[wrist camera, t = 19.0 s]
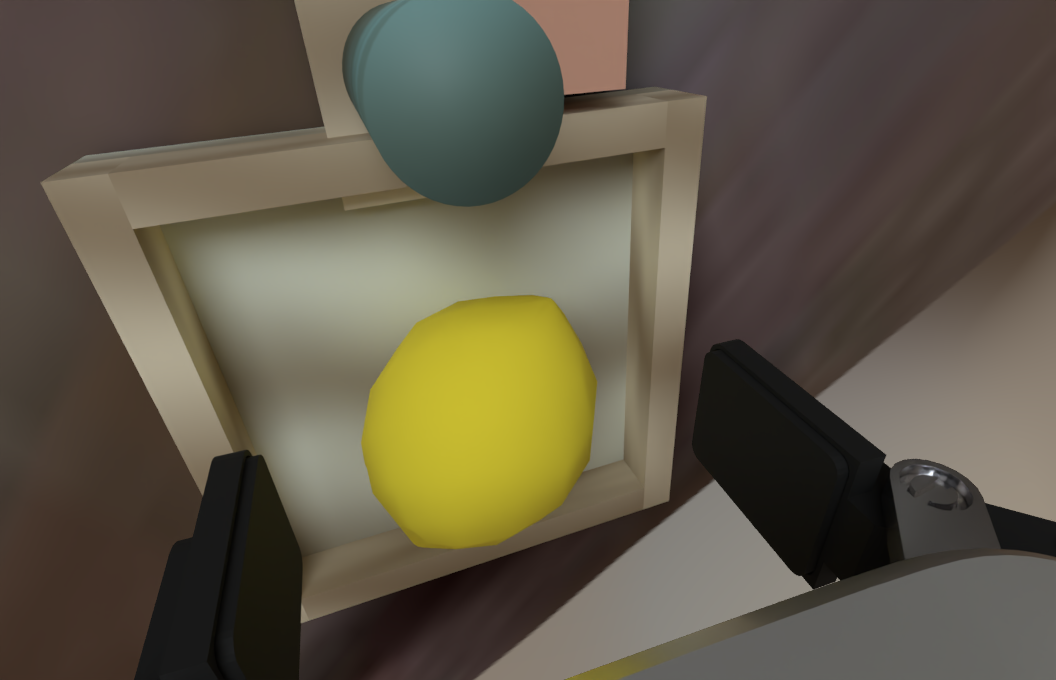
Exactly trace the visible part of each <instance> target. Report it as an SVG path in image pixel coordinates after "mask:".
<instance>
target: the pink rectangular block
mask: <svg viewBox="0 0 1056 680" xmlns="http://www.w3.org/2000/svg"><path fill="white" fill-rule="evenodd" d="M513 1H514V2H516V3H517V4H518V5H520V6H521V7H523V8H524V9H525V10H526V11H527V12H528V13H529V14H530V15H531V16H532V17H533V18H534V19H535V20H536V21H537V23H538V24H539V25H540V26H541V28H542V29H543V30H544V32H545V34H546V35H547V37H548V39H549V40H550V42H551V44H552V46H553V49H554V51H555V53H556V56H557V59H558V62H559V65H560V68H561V73H562V78H563V86H564V95H567V94H578V93H588V92H598V91H608V90H619V89H626V64H627V39H628V14H629V0H513Z"/></svg>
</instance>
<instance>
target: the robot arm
mask: <svg viewBox="0 0 1056 680" xmlns="http://www.w3.org/2000/svg"><path fill="white" fill-rule="evenodd" d="M692 446H693V451H694V453H695V455H696V457H697V458H698V460H699V461H700V462H701V463H702V464H703V466H704V467H705V468H706V469H707V470H708V472H709V473H710V474H711V475H712V476H713V478H714V479H715V480H716V481H717V482H718V484H719V485H720V486H721V487H722V488H723V490H724V491H725V492H726V493H727V494H728V496H729V497H730V498H731V499H732V500H733V502H734V503H735V504H736V505H737V506H738V508H739V509H740V510H741V511H742V512H743V514H744V515H745V516H746V517H747V518H748V519H749V521H750V522H751V523H752V525H753V526H754V527H755V528H756V529H757V530H758V532H759V533H760V534H761V535H762V536H763V538H764V539H765V540H766V541H767V543H768V544H769V545H770V546H771V547H772V548H773V550H774V551H775V552H776V553H777V554H778V556H779V557H780V558H781V559H782V561H783V562H784V563H785V564H786V565H787V567H788V568H789V569H790V570H791V571H792V572H793V573H794V574H796V575H798V576H802V577H803V578H804V579H805V580H806V581H807V583H808V584H809V585H810V586H811V587H812V589H815V590H812V591H809V592H807V593H804V594H801V595H798V596H795V597H792V598H790V599H787V600H784V601H781V602H778V603H776V604H773V605H770V606H767V607H764V608H761V609H759V610H756V611H753V612H750V613H747V614H745V615H742V616H739V617H736V618H733V619H731V620H728V621H725V622H722V623H719V624H717V625H714V626H711V627H708V628H706V629H703V630H700V631H698V632H695V633H692V634H689V635H686V636H684V637H681V638H678V639H675V640H672V641H670V642H667V643H664V644H661V645H659V646H656V647H653V648H651V649H647V650H645V651H642V652H639V653H636V654H634V655H631V656H628V657H626V658H623V659H620V660H617V661H614V662H612V663H609V664H607V665H603V666H601V667H598V668H596V669H592V670H590V671H587V672H584V673H582V674H579V675H576V676H573V677H570V678H568V679H565V680H1056V522H1054V521H1050V520H1046V519H1042V518H1039V517H1035V516H1031V515H1028V514H1024V513H1020V512H1016V511H1013V510H1009V509H1005V508H1002V507H997V506H994V505H990V504H987V503H985V502H984V499H983V497H982V495H981V494H980V492H979V490H978V488H977V487H976V486H975V485H974V484H973V483H972V482H971V481H970V480H969V479H967V478H966V477H965V476H963V475H962V474H960V473H958V472H957V471H955V470H953V469H951V468H949V467H946V466H944V465H942V464H939V463H935V462H931V461H928V460H921V459H907V460H902V461H900V462H897V463H895V464H894V466H893V467H892V468H890V467H889V466H887V465H886V464H885V463H884V459H885V457H886V455H885V454H884V453H883V452H882V451H881V450H879V449H878V448H877V447H876V446H874V445H873V444H872V443H871V442H869V441H868V440H867V439H865V438H864V437H863V436H862V435H860V434H859V433H858V432H856V431H855V430H854V429H853V428H851V427H850V426H849V425H848V424H847V423H845V422H844V421H843V420H842V419H840V418H839V417H838V416H837V415H835V414H834V413H833V412H831V411H830V410H829V409H828V408H826V407H825V406H824V405H822V404H821V403H820V402H819V401H818V400H816V399H815V398H814V397H813V396H811V395H810V394H809V393H808V392H806V391H805V390H804V389H802V388H801V387H800V386H799V385H797V384H796V383H795V382H794V381H792V380H791V379H790V378H789V377H787V376H786V375H785V374H784V373H782V372H781V371H780V370H779V369H777V368H776V367H775V366H773V365H772V364H771V363H770V362H768V361H767V360H766V359H765V358H763V357H762V356H761V355H760V354H758V353H757V352H756V351H755V350H753V349H752V348H751V347H750V346H748V345H747V344H746V343H745V342H743V341H741V340H732V341H727V342H723V343H719V344H715V345H713V346H712V348H711V350H710V352H709V353H707V354H706V356H705V360H704V366H703V373H702V380H701V386H700V393H699V400H698V406H697V413H696V420H695V426H694V433H693V440H692ZM302 575H303V562H302V555H301V550H300V547H299V545H298V542H297V540H296V537H295V535H294V532H293V530H292V527H291V525H290V522H289V519H288V517H287V514H286V512H285V509H284V507H283V504H282V502H281V499H280V497H279V494H278V492H277V489H276V487H275V484H274V482H273V479H272V477H271V474H270V472H269V469H268V467H267V464H266V462H265V459H264V457H263V456H262V455H256V456H252V454H251V452H250V451H249V450H242V451H238V452H234V453H229V454H225V455H220V456H216V457H214V458H213V459H212V462H211V465H210V469H209V473H208V477H207V481H206V486H205V490H204V494H203V498H202V502H201V506H200V510H199V514H198V518H197V522H196V526H195V530H194V534H193V537H192V538H188V539H184V540H180V541H177V542H176V543H175V544H174V545H173V547H172V549H171V552H170V554H169V557H168V561H167V565H166V568H165V572H164V575H163V579H162V582H161V586H160V589H159V593H158V597H157V600H156V604H155V607H154V611H153V614H152V618H151V622H150V625H149V629H148V632H147V636H146V639H145V643H144V646H143V650H142V654H141V657H140V661H139V664H138V668H137V671H136V675H135V678H134V680H299V659H300V631H301V603H302ZM837 577H838V578H839V579H840V581H838V582H835V581H836V579H837ZM833 582H835V583H833ZM830 583H832V584H830ZM827 584H829V585H827ZM824 585H826V586H824ZM822 586H823V587H822ZM819 587H821V588H819ZM816 588H818V589H816Z"/></svg>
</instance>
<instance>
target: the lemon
mask: <svg viewBox="0 0 1056 680" xmlns="http://www.w3.org/2000/svg"><path fill="white" fill-rule="evenodd" d="M596 391H597V380H596V377H595V375H594V372H593V370H592V368H591V365H590V363H589V360H588V358H587V355H586V353H585V351H584V348H583V346H582V343H581V341H580V340H579V338H578V336H577V335H576V333H575V331H574V330H573V328H572V326H571V325H570V323H569V321H568V320H567V318H566V316H565V314H564V313H563V312H562V310H561V309H560V308H559V307H558V305H557V304H556V303H555V302H554V301H553V300H552V299H551V298H548V297H542V296H536V295H518V296H494V297H487V298H480V299H472V300H465V301H458V302H456V303H454V304H452V305H450V306H448V307H446V308H444V309H442V310H440V311H438V312H436V313H434V314H432V315H431V316H429V317H427V318H425V319H423V320H421V321H419V322H417V323H416V324H415V325H414V326H413V328H412V329H411V330H410V332H409V333H408V334H407V336H406V337H405V338H404V340H403V341H402V342H401V344H400V345H399V346H398V348H397V349H396V351H395V352H394V354H393V355H392V357H391V358H390V360H389V362H388V363H387V365H386V366H385V368H384V369H383V371H382V372H381V374H380V375H379V377H378V378H377V380H376V382H375V383H374V385H373V386H372V388H371V389H370V394H369V399H368V405H367V411H366V417H365V423H364V428H363V434H362V440H361V446H362V451H363V457H364V462H365V465H366V467H367V471H368V475H369V480H370V484H371V488H372V493H373V494H374V496H375V497H376V498H377V499H378V501H379V502H380V503H381V504H382V506H383V507H384V508H385V509H386V511H387V512H388V513H389V514H390V516H391V517H392V518H393V519H394V520H395V522H396V523H397V524H398V525H399V527H400V528H401V529H402V530H403V532H404V533H405V534H406V535H407V536H408V538H409V539H410V540H411V541H412V543H413V544H415V545H416V546H418V547H423V548H441V549H464V548H473V547H483V546H492V545H498V544H499V543H501V542H503V541H505V540H506V539H508V538H510V537H512V536H513V535H515V534H517V533H519V532H520V531H522V530H524V529H526V528H527V527H529V526H531V525H533V524H534V523H536V522H538V521H540V520H541V519H542V518H544V517H545V516H547V515H548V514H550V513H551V512H552V511H554V510H555V509H557V508H558V507H559V506H561V505H562V504H563V502H564V501H565V499H566V497H567V496H568V494H569V493H570V491H571V489H572V488H573V486H574V485H575V483H576V482H577V480H578V478H579V477H580V475H581V474H582V472H583V471H584V469H585V467H586V466H587V464H588V463H589V461H590V453H591V443H592V433H593V423H594V413H595V402H596Z"/></svg>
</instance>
